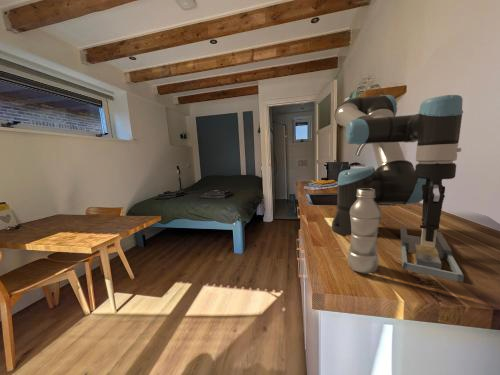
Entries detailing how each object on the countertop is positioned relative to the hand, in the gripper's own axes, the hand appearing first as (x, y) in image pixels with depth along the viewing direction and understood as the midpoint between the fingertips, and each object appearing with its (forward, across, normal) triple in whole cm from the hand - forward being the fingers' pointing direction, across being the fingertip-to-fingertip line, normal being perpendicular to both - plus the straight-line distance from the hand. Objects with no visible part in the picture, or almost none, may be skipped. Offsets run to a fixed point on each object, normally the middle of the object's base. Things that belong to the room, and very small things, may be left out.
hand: (427, 251), depth 53 cm
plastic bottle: (+2, -15, +14) cm, 21 cm away
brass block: (+1, -3, +1) cm, 3 cm away
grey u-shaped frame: (+2, -6, 0) cm, 6 cm away
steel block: (+1, -7, +1) cm, 7 cm away
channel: (+2, +7, 0) cm, 7 cm away
